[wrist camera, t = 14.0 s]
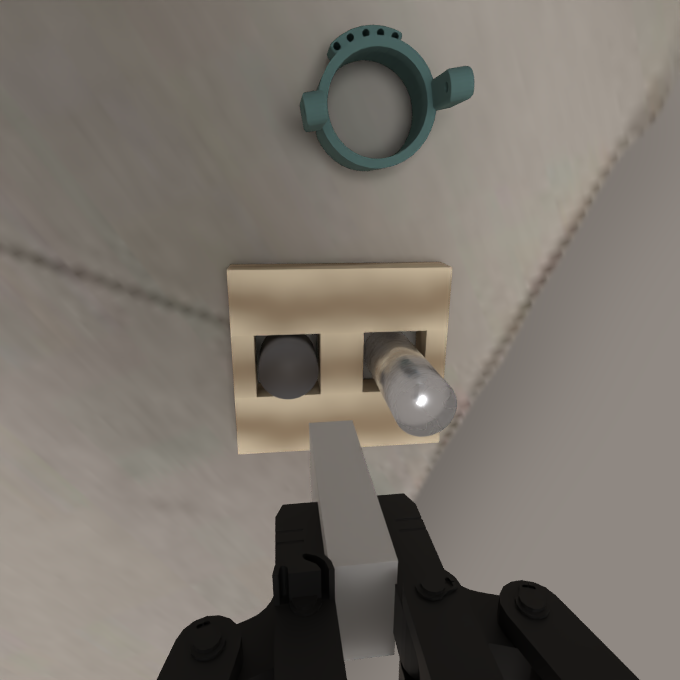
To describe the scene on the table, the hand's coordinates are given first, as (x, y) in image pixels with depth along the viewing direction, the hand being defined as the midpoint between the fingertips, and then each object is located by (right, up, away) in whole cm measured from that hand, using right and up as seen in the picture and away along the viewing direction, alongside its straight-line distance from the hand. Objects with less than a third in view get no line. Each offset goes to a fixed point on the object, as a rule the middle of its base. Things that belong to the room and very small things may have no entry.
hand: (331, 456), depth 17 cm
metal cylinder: (+5, +3, +27) cm, 28 cm away
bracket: (+2, +22, +21) cm, 31 cm away
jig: (0, +3, +26) cm, 27 cm away
